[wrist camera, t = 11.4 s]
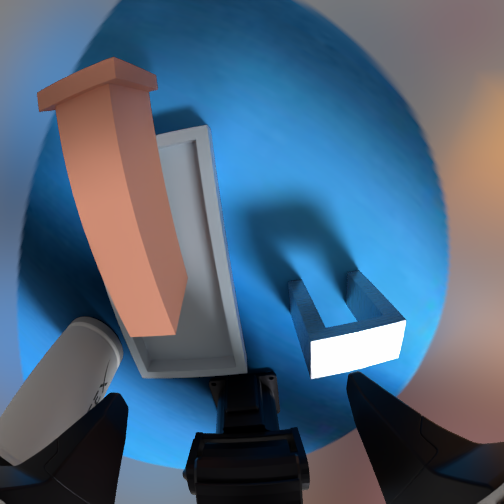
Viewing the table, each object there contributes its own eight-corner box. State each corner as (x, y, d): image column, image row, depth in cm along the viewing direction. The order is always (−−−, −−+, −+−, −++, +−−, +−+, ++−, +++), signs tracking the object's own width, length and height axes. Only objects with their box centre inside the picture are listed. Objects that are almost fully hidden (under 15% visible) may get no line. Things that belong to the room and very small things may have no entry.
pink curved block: (195, 277, 20) (184, 341, 14) (144, 282, 20) (119, 344, 14) (155, 75, 13) (113, 56, 8) (97, 94, 13) (36, 92, 8)
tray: (246, 356, 24) (247, 373, 22) (148, 363, 24) (142, 378, 22) (210, 128, 17) (206, 124, 15) (90, 157, 17) (75, 158, 15)
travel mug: (63, 341, 23) (-26, 483, 4) (81, 303, 21) (-41, 472, 2) (109, 375, 24) (47, 532, 5) (134, 343, 23) (57, 540, 4)
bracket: (357, 301, 22) (398, 357, 15) (290, 313, 22) (310, 379, 15) (358, 270, 21) (406, 320, 14) (288, 281, 21) (310, 341, 14)
